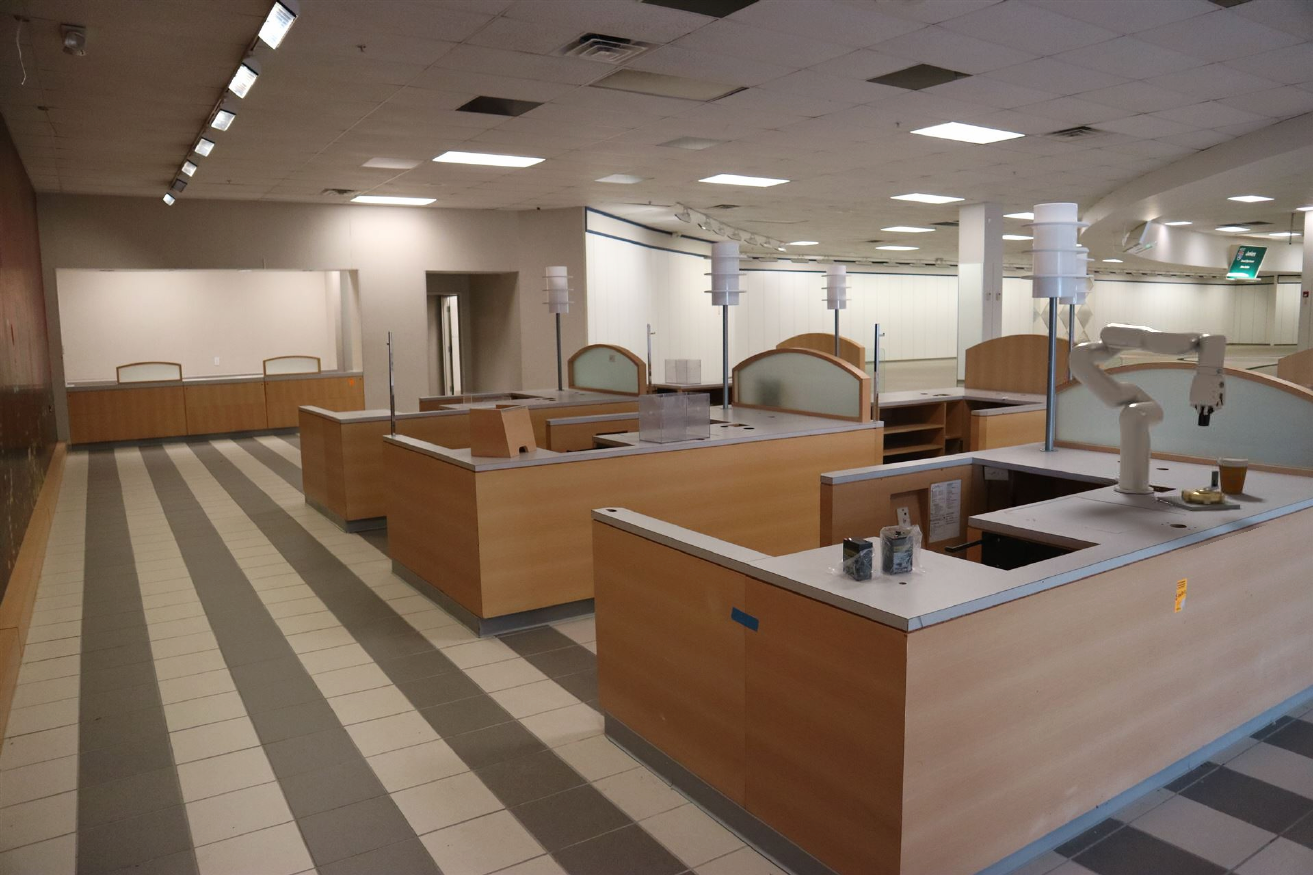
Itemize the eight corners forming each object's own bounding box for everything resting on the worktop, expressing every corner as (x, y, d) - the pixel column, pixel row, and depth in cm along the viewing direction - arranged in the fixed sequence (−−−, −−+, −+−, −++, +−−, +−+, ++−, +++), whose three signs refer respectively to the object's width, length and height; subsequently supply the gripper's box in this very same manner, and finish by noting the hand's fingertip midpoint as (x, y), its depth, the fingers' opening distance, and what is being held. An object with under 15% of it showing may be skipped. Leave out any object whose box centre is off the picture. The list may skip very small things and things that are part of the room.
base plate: (1156, 500, 305) (1157, 496, 305) (1203, 498, 307) (1203, 494, 307) (1191, 510, 289) (1191, 506, 288) (1240, 508, 290) (1240, 504, 290)
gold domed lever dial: (1216, 505, 288) (1218, 479, 287) (1175, 500, 298) (1176, 475, 297) (1235, 498, 299) (1237, 472, 298) (1194, 493, 308) (1196, 468, 307)
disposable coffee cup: (1215, 489, 321) (1217, 456, 320) (1247, 491, 316) (1249, 457, 315) (1215, 493, 313) (1217, 460, 312) (1248, 495, 308) (1250, 461, 307)
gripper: (1238, 373, 292) (1232, 428, 295) (1197, 369, 305) (1191, 422, 309) (1222, 374, 289) (1215, 430, 292) (1181, 369, 303) (1175, 423, 306)
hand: (1203, 425), depth 300 cm, fingers closed
